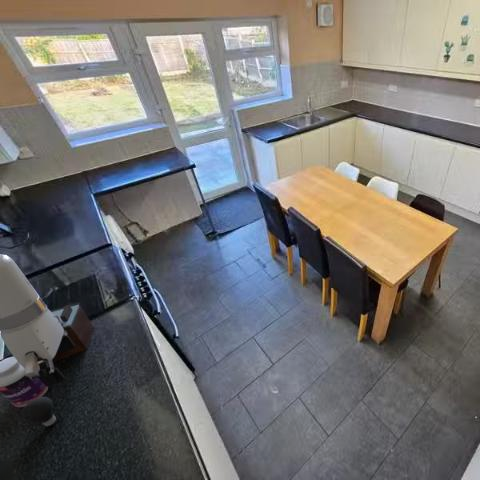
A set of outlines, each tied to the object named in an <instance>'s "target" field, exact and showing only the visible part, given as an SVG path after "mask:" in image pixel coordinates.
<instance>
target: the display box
mask: <svg viewBox="0 0 480 480" xmlns="http://www.w3.org/2000/svg"><path fill="white" fill-rule="evenodd" d="M69 305H70V307H72V306H75V305H79V308H78V310H77V313H76V315H75V317H74V320H73V322H72V325H71V326H70V325H69V326H66V327H63V328H64V331H67V336H69V337H70V339H71V340H72V342H73V343H74V344H75V348H74V349H72V350H69V351H66V352H63V353H59V352H58V351H57V352H56V355H55V356H54V358H53V359H52V361H53V362H55V361H58V360H59V361H60V360H61V359H64V358H68V357H70V356H74V355H77V354H79V353H82V352H86V351H88V350H89V346H90V344H91V340H92V338H93V337H92V336H93V333H94V331H95V327H94V325H93V323H92V322H91V320H90V318H89V317H88V316H87V314H86V313H85V311H84V310H83V308H82V306H81V303H80V302H76V303H72V304H69ZM64 308H65V306H62V307H59V308H55V309H50V311H51V312H54V311H57V310H61V309H64ZM41 360H44V359H43V358H41V357H40V358H37V362H38V361H41ZM43 365H46V362H44V363H41V364H39V367H41V366H43Z"/></svg>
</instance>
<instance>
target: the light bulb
mask: <svg viewBox="0 0 480 480" xmlns="http://www.w3.org/2000/svg"><path fill="white" fill-rule="evenodd" d="M53 404H54V403H53V401H52V399H51V398H49V397H48V396H42V397H38V398H35V399H33V400H31V401H30V402H28V403H27V404H26V405H25V406H24V407H23V408H22V411H21V417H22V418H23V420H24V421H26V422H28V423H40V424H42V425H43V426H45V427H49V426H52V425H53V424H54V423H55V422H56V420H57V417H56V416H55V415H54V412H53V407H54V406H53Z"/></svg>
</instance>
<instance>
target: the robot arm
mask: <svg viewBox="0 0 480 480" xmlns="http://www.w3.org/2000/svg"><path fill="white" fill-rule="evenodd" d="M0 336H1V339H2V341H3V343H4V344H5V345H4V346H6V348H7V350H8V351H9V352H10V354H11V355H12V357H15V359H16V360H17V361H18V362H19V364H20V365H21V366H22V367H23V368H25V376H27V377H31V378H32V379H34V378H39V379H40V380H41V381H42V382H43V384H44V385H45V386H46V387H48V388H50V387H52V386H55V385H57V384H60V383H63V382H65V381H66V377H65V375H64V374H63V372H61V371H60V370H59V368H58V367H55V366H54V361H52V359H53V358H54V356H55V355H56V352H57V351H58V352H59V353H63V352H66V351H69V350H72V349H74V348H75V344H74V343H73V342H72V340H71V339H70V337H69V336H67V331H64V328H63V324H62V323H60V319H59V316H58V315H57V316H54V315H53V314H52V313H51V309H49V308H48V305H47V304H46V303H45V302H44V300H43V299H42V298H41V296H40V295H39V294H38V292H37V291H36V290H35V288H34V286H33V285H32V283H30V281H29V280H28V278H27V277H26V275H25V274H24V273H23V271H22V270H21V269H20V267H19V266H18V265H17V263H16V262H15V260H14V259H13V258H12V257H10V256H8V255H7V254H1V253H0ZM40 357H41V358H43V359H44V360H41V361H38V362H37V358H40ZM44 362H46V364H45V365H46V368H42V369H41V368H40V367H41V366H39V364H41V363H44Z"/></svg>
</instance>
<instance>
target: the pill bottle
mask: <svg viewBox="0 0 480 480" xmlns="http://www.w3.org/2000/svg"><path fill="white" fill-rule="evenodd" d="M48 389H49V387H46V386H45V385H44V384H43V382H42V381H41V380H40V379H39V378H34V379H32V378H31V377H27V376H25V368H23V367H22V366H21V365H20V364H19V362H18V361H17V360H16V359H15V357H14V356H10V357H7V358H4V359H2V360H0V394H1V395H2V396H3V397H4V398H6V400H8V402H9V403H10V404H11V405H13V406H14V407H16V408H22V407H23V408H24V407H25V405H26V404H27V403H28V402H30V401H31V400H33V399H35V398H38V397H44V395H45V394H46V393H47V391H48Z"/></svg>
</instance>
